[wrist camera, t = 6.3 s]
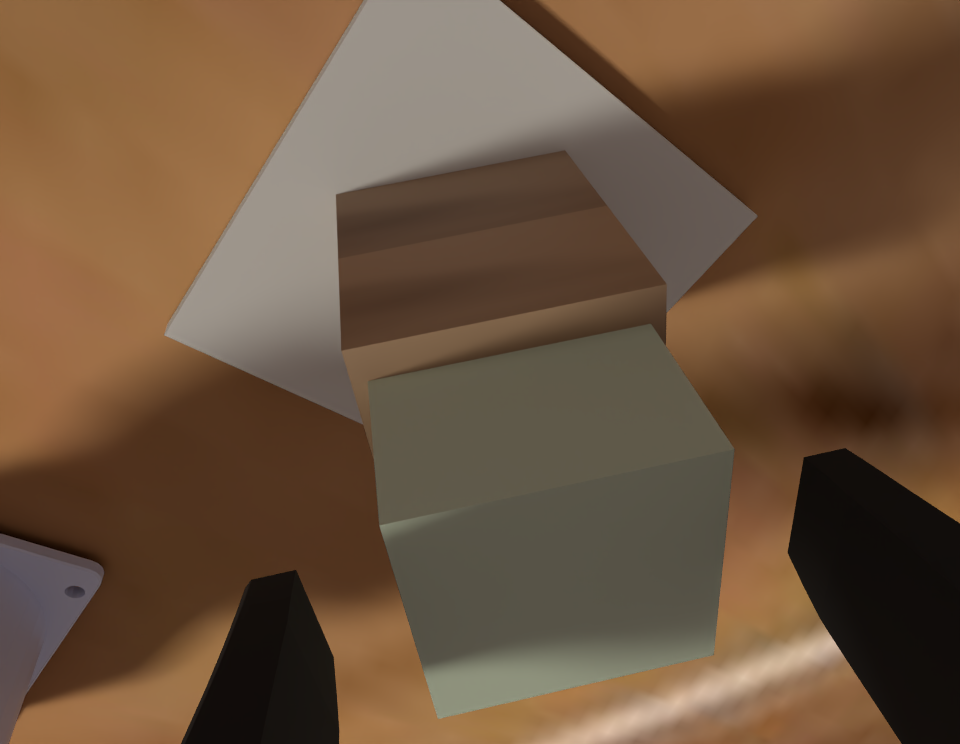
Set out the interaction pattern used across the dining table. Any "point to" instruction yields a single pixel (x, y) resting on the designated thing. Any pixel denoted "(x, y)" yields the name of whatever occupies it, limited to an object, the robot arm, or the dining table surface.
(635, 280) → the tower top
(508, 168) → the tower base
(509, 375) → the pale green cube
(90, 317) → the dining table surface
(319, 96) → the felt mat
